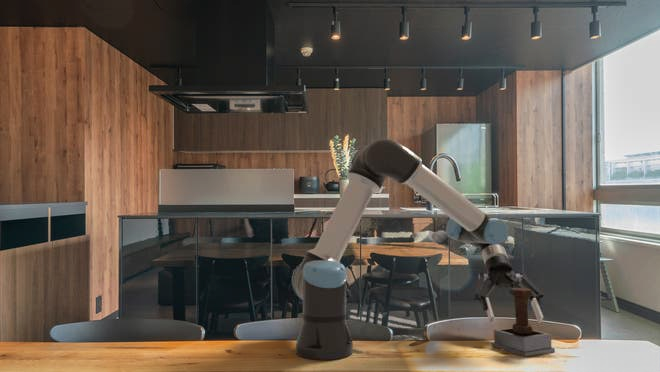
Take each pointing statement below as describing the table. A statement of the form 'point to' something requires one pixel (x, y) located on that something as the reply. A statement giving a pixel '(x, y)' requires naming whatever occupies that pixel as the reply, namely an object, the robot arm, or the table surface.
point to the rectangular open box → (523, 342)
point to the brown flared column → (521, 311)
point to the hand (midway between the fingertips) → (516, 319)
